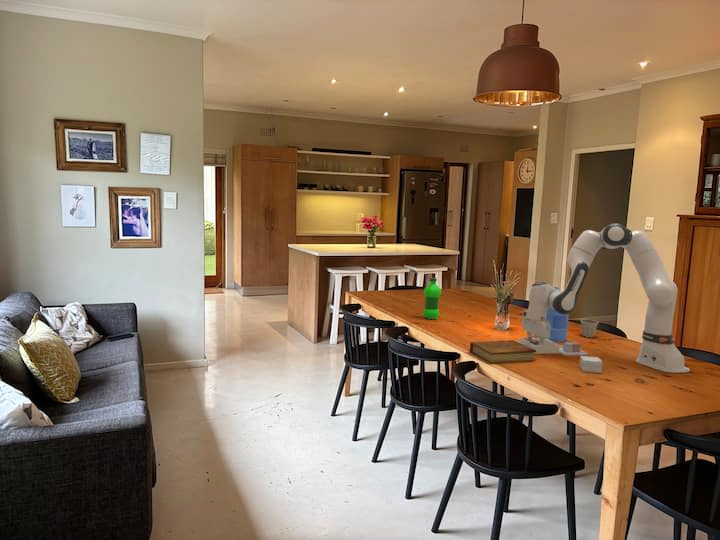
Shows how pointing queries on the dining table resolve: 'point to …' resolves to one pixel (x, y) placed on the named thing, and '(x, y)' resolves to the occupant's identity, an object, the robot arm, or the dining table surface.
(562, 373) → the dining table surface
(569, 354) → the tray
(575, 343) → the pebble brown
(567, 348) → the pebble slate
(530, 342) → the pebble charcoal
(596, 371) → the small box
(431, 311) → the plastic bottle
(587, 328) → the flower pot
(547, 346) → the flat white box
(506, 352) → the diary
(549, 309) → the water jug
